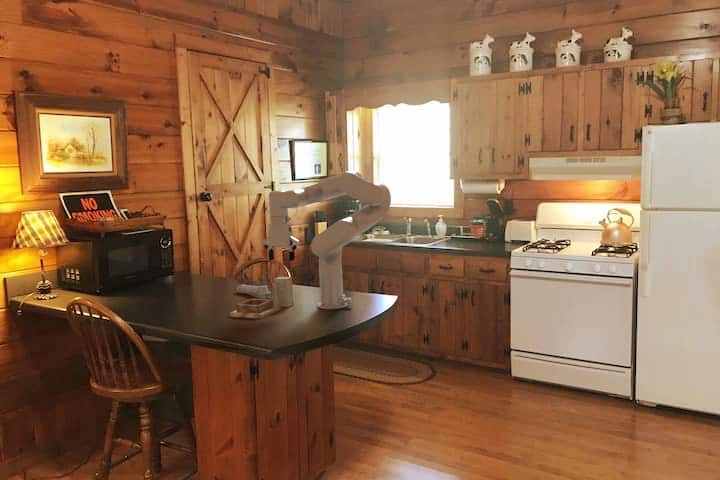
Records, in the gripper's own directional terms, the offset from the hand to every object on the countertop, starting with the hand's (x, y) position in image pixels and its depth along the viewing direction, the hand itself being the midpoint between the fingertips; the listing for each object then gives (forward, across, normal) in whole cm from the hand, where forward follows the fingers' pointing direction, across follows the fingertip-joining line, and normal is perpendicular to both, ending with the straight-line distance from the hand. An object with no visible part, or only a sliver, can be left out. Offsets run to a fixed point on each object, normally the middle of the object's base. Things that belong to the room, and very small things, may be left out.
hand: (281, 260), depth 256 cm
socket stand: (+20, +6, +14) cm, 25 cm away
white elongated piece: (+20, +25, -15) cm, 35 cm away
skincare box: (+20, 0, 0) cm, 20 cm away
